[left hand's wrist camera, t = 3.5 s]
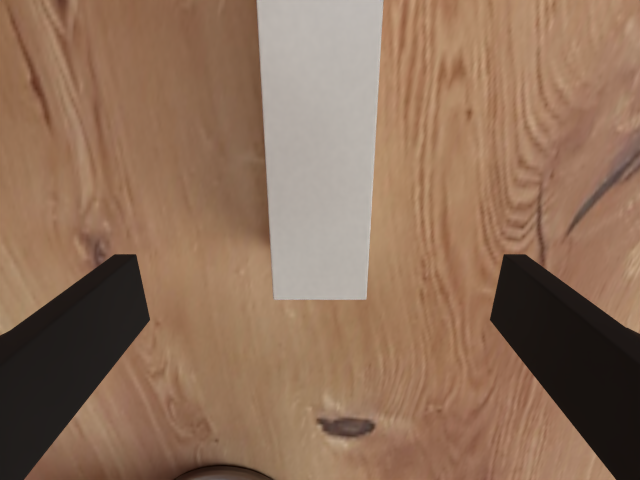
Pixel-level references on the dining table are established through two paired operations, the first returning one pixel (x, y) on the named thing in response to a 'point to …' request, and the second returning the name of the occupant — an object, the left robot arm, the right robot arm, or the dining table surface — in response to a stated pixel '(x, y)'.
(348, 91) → the bar
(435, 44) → the dining table surface
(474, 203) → the dining table surface
